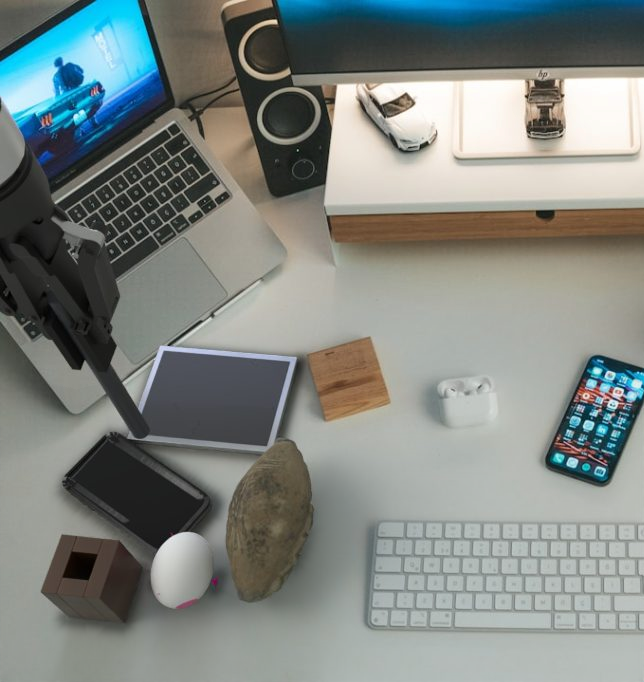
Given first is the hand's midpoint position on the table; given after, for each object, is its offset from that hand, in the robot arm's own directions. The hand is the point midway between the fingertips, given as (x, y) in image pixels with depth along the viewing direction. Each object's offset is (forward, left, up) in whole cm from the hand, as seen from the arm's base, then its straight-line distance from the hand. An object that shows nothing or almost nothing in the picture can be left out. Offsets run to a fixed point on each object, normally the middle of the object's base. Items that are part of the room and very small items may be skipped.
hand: (94, 357), depth 91 cm
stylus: (0, 0, -13) cm, 13 cm away
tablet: (0, +11, -27) cm, 29 cm away
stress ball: (+3, -9, -27) cm, 29 cm away
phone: (-5, -1, -27) cm, 27 cm away
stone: (+11, -3, -27) cm, 29 cm away
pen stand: (-5, -11, -27) cm, 29 cm away
